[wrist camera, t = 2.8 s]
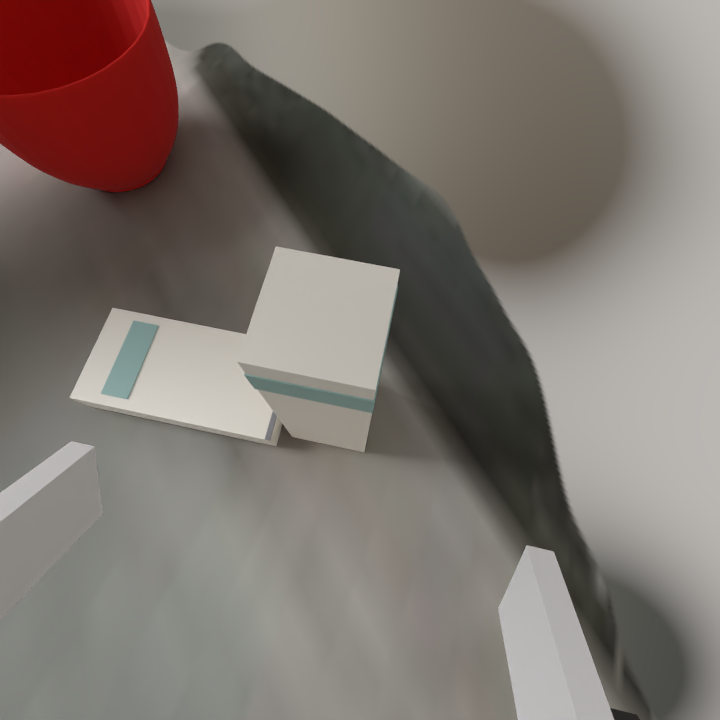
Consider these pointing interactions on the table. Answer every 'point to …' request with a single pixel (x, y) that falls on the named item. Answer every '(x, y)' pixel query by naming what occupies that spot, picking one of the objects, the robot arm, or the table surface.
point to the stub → (320, 344)
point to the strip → (175, 377)
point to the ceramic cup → (87, 90)
